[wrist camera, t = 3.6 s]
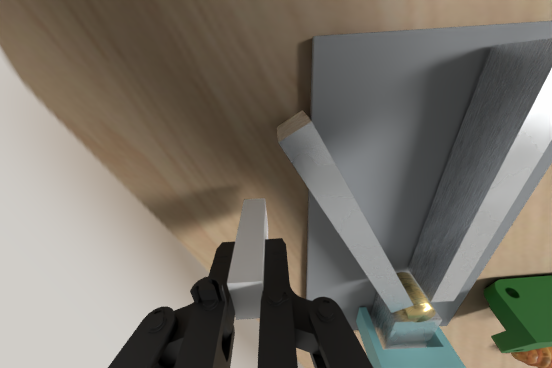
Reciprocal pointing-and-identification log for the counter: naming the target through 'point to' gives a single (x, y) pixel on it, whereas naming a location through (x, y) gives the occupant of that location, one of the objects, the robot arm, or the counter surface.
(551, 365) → the pastry
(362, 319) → the collar
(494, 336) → the clamp
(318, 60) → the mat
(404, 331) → the tongs body
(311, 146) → the arm
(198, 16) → the counter surface
